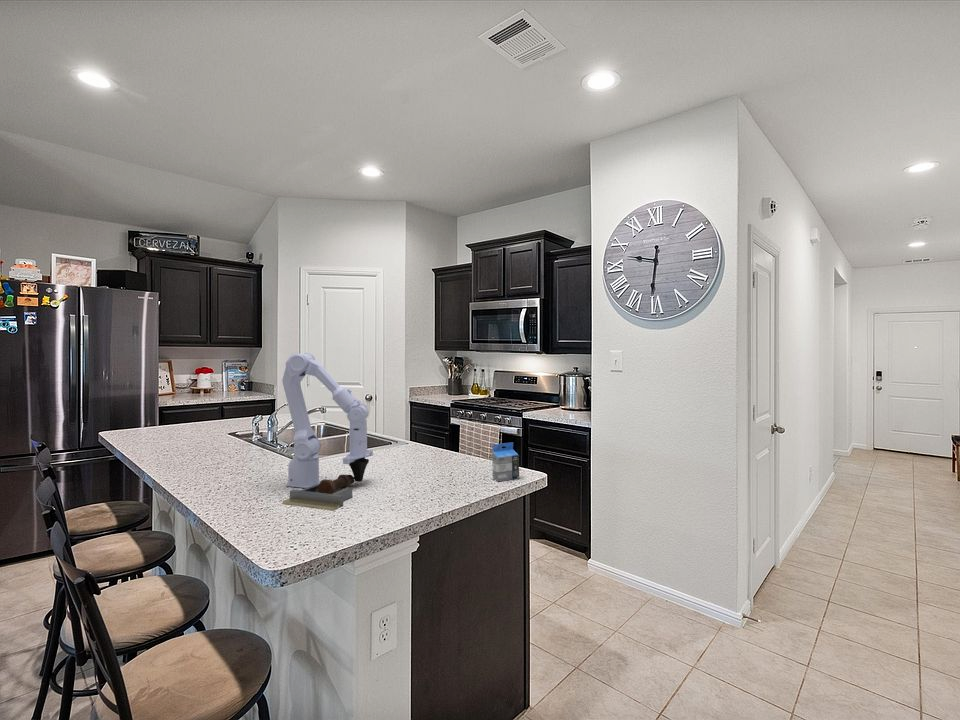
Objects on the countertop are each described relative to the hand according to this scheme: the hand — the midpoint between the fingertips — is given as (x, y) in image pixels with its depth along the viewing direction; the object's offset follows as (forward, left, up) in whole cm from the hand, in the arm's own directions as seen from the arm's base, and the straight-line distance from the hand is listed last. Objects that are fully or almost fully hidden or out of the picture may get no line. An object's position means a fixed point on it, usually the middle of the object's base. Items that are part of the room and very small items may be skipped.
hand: (358, 481), depth 168 cm
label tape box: (+44, +24, -2) cm, 50 cm away
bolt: (-2, -8, -2) cm, 8 cm away
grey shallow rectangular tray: (0, -19, -1) cm, 19 cm away
